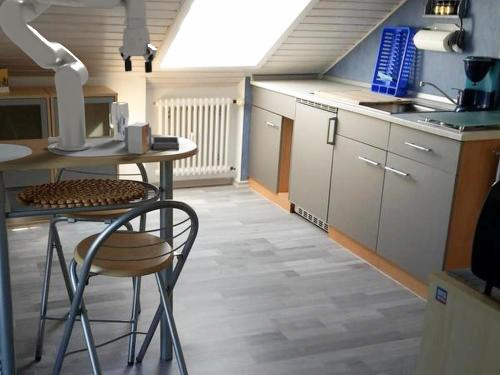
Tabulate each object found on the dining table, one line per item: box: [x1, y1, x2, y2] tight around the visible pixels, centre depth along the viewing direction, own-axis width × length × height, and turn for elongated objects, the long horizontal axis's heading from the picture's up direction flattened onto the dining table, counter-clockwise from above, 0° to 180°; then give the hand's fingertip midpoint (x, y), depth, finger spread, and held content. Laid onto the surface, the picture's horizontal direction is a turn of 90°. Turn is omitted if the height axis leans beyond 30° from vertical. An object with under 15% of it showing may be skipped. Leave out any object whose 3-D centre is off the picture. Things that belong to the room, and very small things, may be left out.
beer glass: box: [110, 101, 130, 142], centre depth 245 cm, size 7×7×15 cm
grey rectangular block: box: [124, 125, 153, 150], centre depth 233 cm, size 10×5×8 cm, turn 99°
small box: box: [127, 121, 150, 155], centre depth 226 cm, size 8×6×10 cm
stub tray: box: [152, 136, 180, 151], centre depth 237 cm, size 10×12×2 cm
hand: (138, 71), depth 223 cm, fingers open, 9 cm apart
